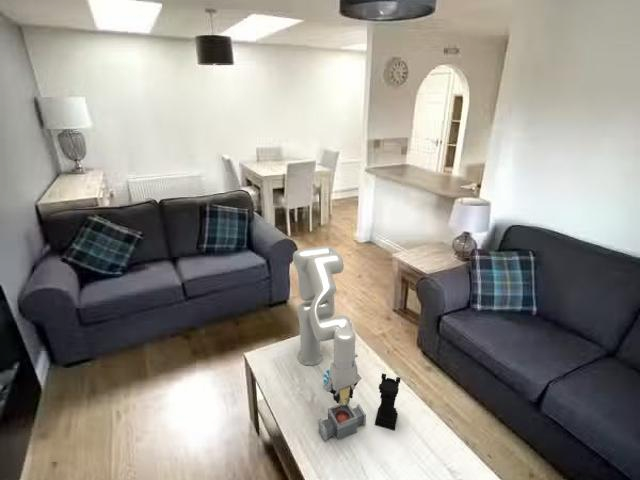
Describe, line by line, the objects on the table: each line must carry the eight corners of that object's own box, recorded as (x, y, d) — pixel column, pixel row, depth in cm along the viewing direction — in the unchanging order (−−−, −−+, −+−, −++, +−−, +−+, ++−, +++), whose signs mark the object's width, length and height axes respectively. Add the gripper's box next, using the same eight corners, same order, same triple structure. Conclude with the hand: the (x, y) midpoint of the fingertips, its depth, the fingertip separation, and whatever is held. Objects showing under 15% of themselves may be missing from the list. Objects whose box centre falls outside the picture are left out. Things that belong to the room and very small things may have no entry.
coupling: (334, 397, 137) (334, 383, 134) (345, 392, 139) (346, 379, 136) (340, 407, 133) (340, 392, 130) (352, 402, 134) (352, 388, 132)
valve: (316, 427, 142) (316, 412, 139) (356, 411, 149) (357, 397, 146) (326, 445, 135) (326, 430, 132) (367, 428, 142) (368, 413, 138)
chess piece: (397, 414, 147) (401, 377, 139) (394, 430, 141) (399, 392, 133) (378, 409, 150) (381, 372, 142) (374, 424, 143) (377, 387, 135)
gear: (326, 393, 155) (322, 369, 159) (321, 393, 160) (317, 370, 164) (349, 388, 160) (344, 365, 163) (343, 389, 165) (339, 366, 168)
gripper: (359, 347, 134) (357, 384, 142) (318, 360, 128) (318, 398, 135) (370, 360, 128) (367, 398, 135) (326, 374, 122) (326, 413, 129)
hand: (343, 397), depth 135 cm, fingers closed on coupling, 5 cm apart
